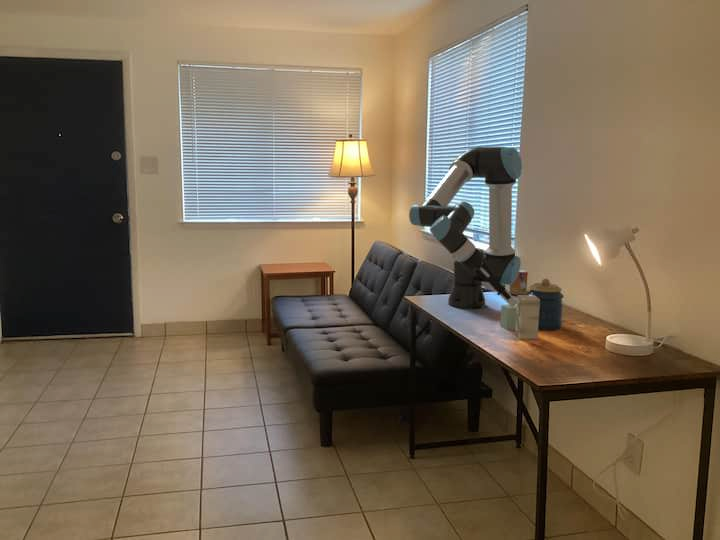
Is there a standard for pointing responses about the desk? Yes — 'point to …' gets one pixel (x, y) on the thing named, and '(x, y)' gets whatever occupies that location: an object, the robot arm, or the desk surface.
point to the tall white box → (527, 317)
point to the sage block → (508, 317)
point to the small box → (519, 284)
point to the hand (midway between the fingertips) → (514, 304)
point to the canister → (548, 304)
